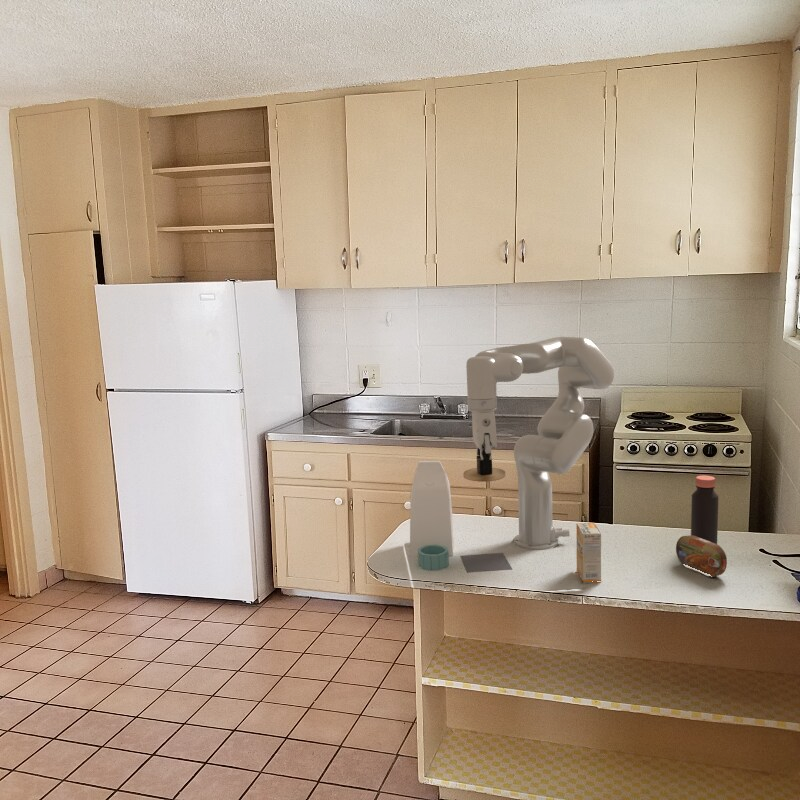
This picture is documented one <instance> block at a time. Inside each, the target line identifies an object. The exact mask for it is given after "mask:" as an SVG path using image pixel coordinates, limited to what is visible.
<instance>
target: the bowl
mask: <svg viewBox="0 0 800 800" xmlns="http://www.w3.org/2000/svg"><path fill="white" fill-rule="evenodd" d="M449 557H450V556H448V548H447V547H444V546H441V545H426V546H423V547H421V548H419V549H418V556H417V560H418V561H417V563H418V565H417V566H418V567H419V568H420V569H423V570H425V571H426V570H427V571H440V570H443V569H446V568H447V567H448V566H450V562H449V561H450V559H449Z"/></svg>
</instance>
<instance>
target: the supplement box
mask: <svg viewBox="0 0 800 800" xmlns="http://www.w3.org/2000/svg"><path fill="white" fill-rule="evenodd" d="M576 571H577V574H578V575H579V577H580V578H581V581H583V582H592V581H593V582H597V581H601V582H602V532H601V531H600V529H599V528H598V526H597V525H596V524H595V522H578V523H576ZM583 582H582V583H583Z"/></svg>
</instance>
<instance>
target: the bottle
mask: <svg viewBox="0 0 800 800" xmlns="http://www.w3.org/2000/svg"><path fill="white" fill-rule="evenodd" d="M715 486H716V478H715V477H714V476H712V475H711V476H710V475H698V476H696V477H695V487H696V490H695V491H694V492H693V493H692V494H691V505H690V506H691V509H690V510H691V514H690V517H691V519H690V535H693V536H697V537H699V538H702V539H704V540H707V541H710V542H712V543H715V544H717V545H718V531H719V530H718V527H719V495H718V494H717V493H716V491H714V489H715V488H716V487H715Z"/></svg>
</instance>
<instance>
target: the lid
mask: <svg viewBox="0 0 800 800" xmlns="http://www.w3.org/2000/svg"><path fill="white" fill-rule="evenodd" d="M479 460H481V458H477V457H476V467H474V468H473V467H472V468H470V469H466V470H464V471H463V473H462V474H463V478H464V479H465V480H468V481H473V482H479V483H481V482H484V483H486V482H493V481H494V482H495V481H499V480H502V479H504V478H505V477H506V471H505V470H504V469H502V468H497V467H492V474H491V475H480V462H479Z"/></svg>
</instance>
